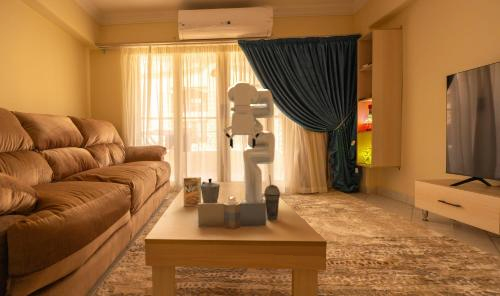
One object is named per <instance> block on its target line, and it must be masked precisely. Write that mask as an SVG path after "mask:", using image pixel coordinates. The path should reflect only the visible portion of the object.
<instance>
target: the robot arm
mask: <svg viewBox="0 0 500 296" xmlns="http://www.w3.org/2000/svg"><path fill="white" fill-rule="evenodd" d="M227 98H228V99H229V101H230V102H231V103H233V107H230V111H231V112H233V113H232V114H231V122H230V123H231V124H230V126H228V127H226V128H224V129H223V132H224V135H225V137H227V138H228V139H229V147H230V148H231V149H234V139H233V138H234V137H235V136H247V145H248V147H246V148H245V149H244V150H243V152H242V156H243V163H244V199H242V202H241V203H266V200H265V199H263V198H265V195H264V193H262V192H263V187H262V186H263V180H262V176H263V175H262V173H263V171H262V169H261V168H260V166H259V165H270V164H272V163H273V162H274V160H275V149H276V148H275V147H276V138H275V134H274V132H272V131H264V126H263V124H262V123H261V121H260V120H258V119H271V118H273V116H274V114H275V109H274V100H273V99H274V98H273V94H272V92H271V90H270V89H257V87H256V86H254V85H253V84H250V83H249V82H246V81H239V82H236V83H234V85H232V86H230V87H228V89H227ZM229 131H230V132H231V134H229Z"/></svg>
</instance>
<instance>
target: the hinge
mask: <svg viewBox="0 0 500 296" xmlns="http://www.w3.org/2000/svg"><path fill="white" fill-rule="evenodd" d="M197 209H198V210H197V218H198V219H197V220H198V221H197V222H198V223H197V224H198V228H212V227H213V228H214V227H215V228H219V227H221V228H222V227H223V228H225V229H228V230H230V229H232V230H233V229H234V230H236V229H238V228H241V227H266V226H267V212H266V202H264V203H243V202H239V201H236V204H234V205H229V203H228V201H225V202H221V203H220V202H217V203H203V202H201V203H198V206H197Z"/></svg>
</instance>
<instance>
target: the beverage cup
mask: <svg viewBox="0 0 500 296" xmlns="http://www.w3.org/2000/svg"><path fill="white" fill-rule="evenodd" d="M268 176H269V185H267V186H266V188H265V189H264V192H263V194H264V195H265V197H264V198H265V199H264V200H265V203H266V221H267V220H268V221H271V222H273V221H275V222H276V221H277V220H278V217H279V203H280V197H281V191H280V189H279V187H278V186H277V185H274V184H272V180H271V179H272V178H271V174H269V175H268Z"/></svg>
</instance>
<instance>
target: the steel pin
mask: <svg viewBox="0 0 500 296" xmlns="http://www.w3.org/2000/svg"><path fill="white" fill-rule="evenodd" d="M227 200H228V201H227V202H228V203H229V205H234V204H236V202H237V200H236V197H235V196H229V197H228V199H227Z"/></svg>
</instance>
